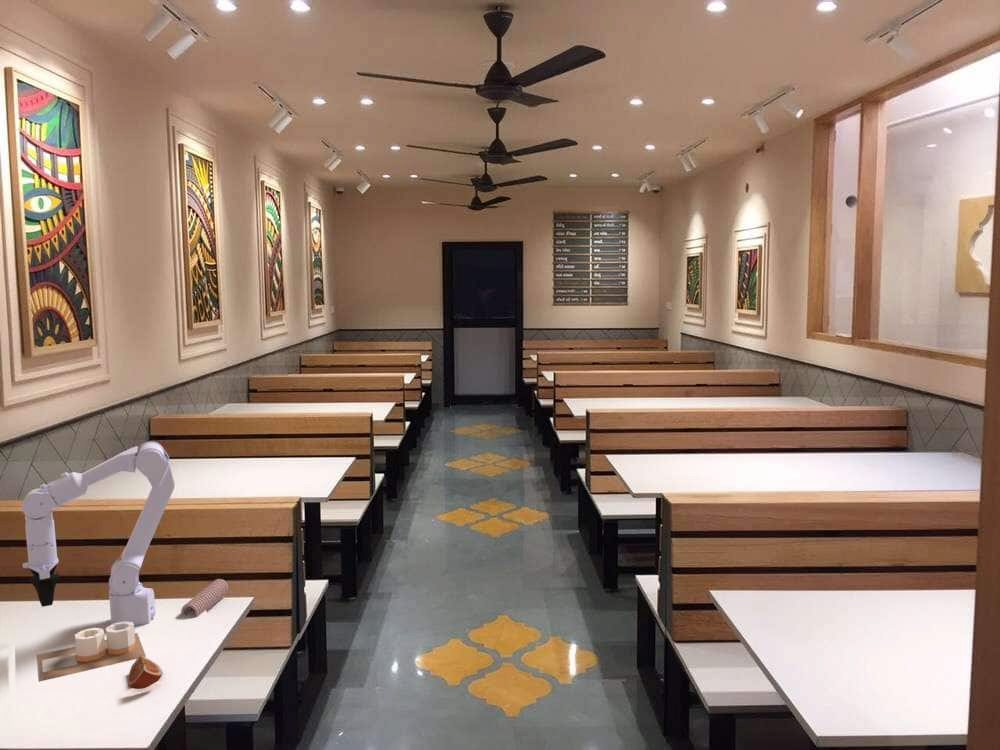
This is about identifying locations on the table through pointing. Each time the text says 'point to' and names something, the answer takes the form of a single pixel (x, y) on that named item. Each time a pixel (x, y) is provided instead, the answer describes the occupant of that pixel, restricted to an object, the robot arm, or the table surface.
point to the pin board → (67, 661)
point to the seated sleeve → (120, 638)
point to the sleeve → (90, 644)
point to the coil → (206, 597)
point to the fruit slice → (143, 673)
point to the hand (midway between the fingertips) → (46, 599)
